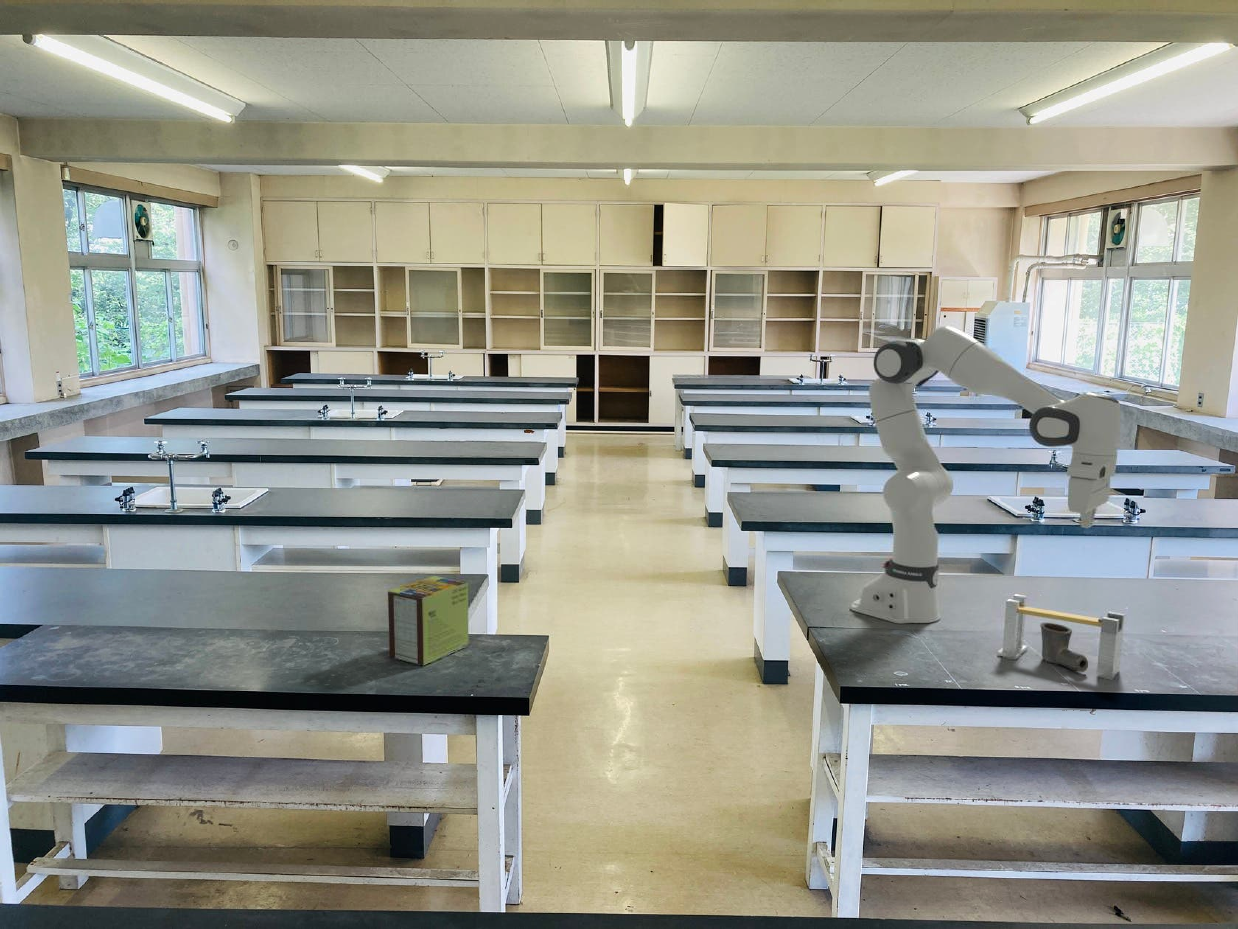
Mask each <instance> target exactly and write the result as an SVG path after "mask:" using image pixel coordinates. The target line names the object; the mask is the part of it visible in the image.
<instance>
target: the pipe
mask: <svg viewBox="0 0 1238 929" xmlns="http://www.w3.org/2000/svg"><path fill="white" fill-rule="evenodd" d="M1039 626H1040V630H1041V640H1042V641H1041V642H1042V643H1041V646H1042V647H1041V649H1042V650H1041V657H1042V659H1043V660H1044V661H1046V662H1048V663H1051V664H1056V665H1061V666H1063V667H1066V668H1067V669H1070V670H1073V671H1076V672H1078V673H1079V672H1080V673H1084V672H1086V670H1088V669H1089V668H1088V667H1089V661H1088V659H1087V657H1086V656H1085V655H1083V654H1081V653H1078V652H1074V651H1072V650H1069V646H1070V640H1071V637H1072V633H1073V630H1072V629H1071V628H1070V627H1067V626H1066V625H1062V624H1059V623H1053V622H1041V623H1040V624H1039Z"/></svg>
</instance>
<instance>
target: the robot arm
mask: <svg viewBox="0 0 1238 929" xmlns="http://www.w3.org/2000/svg"><path fill="white" fill-rule="evenodd" d="M873 369H874V371H875V374H876V375H877V377H878V378H876V379H875V380H874V381H872V382H871V383H870V386H869V389H868V394H869V403H870V410H871V413H872V419H873V420H874V423H875V427H876V431H877V434H878V438H879V441H880V444H881V446H882V450H883V451H884V453H885V454H886V455H887V456H888V457H889V458H890V459H891V461H892V462H893V463H894V466H895V467H896V469H897V472H896V473H895V474H893V475H892V476H891V477H890V478H889V479H887V481H886V482H885V484H884V485H883V489H882V496H883V500H884V503H885V504H886V505H887V507H888V508H889V512H890V517H891V522H892V530H893V531H892V532H893V540H892V541H893V542H892V557H891V558H889V559H888V560H887V561H885V563H883V564H882V565H883V566H882V569H884V573H882V574H880V575H878V576H877V577H875V578H874V579H872V580H870V581H868V582H867V583H866V584H865V585H864V586H863V588H862V590H861V593H860V598H858V599H856V600H854V601H853V602H852V603H851V606H850V609H851V611H853V612H857V613H861V614H863V615H868V616H871V617H874V618H876V619H877V618H878V619H881V620H885V621H888V622H892V623H894V624H910V623H911V624H913V623H914V624H919V623H920V624H927V623H928V624H929V623H934V622H937V621H939V620H940V619H941V614H940V610H939V605H938V597H937V596H938V595H937V594H938V593H937V586H938V582H939V564H938V555H939V554H938V553H939V552H938V551H939V540H940V539H939V538H940V536H939V532H938V531H937V529H936V527H935V526H936V525H935V523H934V518H933V517H934V516H933V509H934V507H936V506H940V505H941V504H943V503H944V502H945V501H947V499H948V498H949V497H950V496H951V495H952V492H953V489H954V480H953V477H952V475H951V474H950V472H949V471H948V470H946V468H944V466H943V465H942V463H941V461H940V460H939V458H938V456H937V454H936V453H935V451H934V449H933V447H932V446H931V443H930V441H929V440H928V437H927V435H926V431H925V429H924V426H923V422H922V420H921V417H920V413H919V411H918V408H917V405H916V402H915V398H914V389H915V388H916V387H918V388H919V387H922V386H923V385H924V384H926V382H928V381H929V380H930V379H933V377H935V376H936V375H938V373H940V374H943V375H944V376H945V377H947V378H948V379H949V380H951V381H952V382H953V383H954V384H956V385H957V386H958V387H960V388H962V389H964V390H966V391H969V392H971V393H974V394H977V395H983V396H993V397H999V398H1004V399H1006V400H1010V401H1011V402H1014V403H1015V404H1017V405H1019V406H1021V407H1022V408H1023V409H1025V410H1026V411H1028V412H1029V413H1031V414H1032V416H1030V417H1031V418H1030V421H1029V423H1028V428H1029V433H1030V435H1031V438H1032V439H1033V440H1034V441H1035V442H1036V443H1038V444H1039V445H1042V446H1044V447H1048V448H1058V447H1067V446H1069V447H1071V448H1072V452H1071V453H1072V454H1071V455H1072V456H1071V460H1070V464H1068V466H1067V471H1066V476H1067V477H1069V479H1068V489H1067V507H1068V511H1070V512H1071V513H1079V515H1080V520H1081V521H1080V527H1081V528H1083V529H1089V528H1091V527H1093V525H1094V518H1095V516H1096V514H1097V508H1099V507H1100V506H1102V505H1104V504H1106V503H1107V502H1108V501H1109V499H1110V491H1111V489H1110V488H1111V477H1115V475H1116V468H1117V460H1118V449H1117V443H1118V439H1119V437H1120V432H1121V420H1122V418H1121V415H1122V413H1121V412H1122V411H1121V404H1120V402H1119V400H1118V399H1117V398H1116V397H1114V396H1113V395H1109V394H1106V393H1102V392H1096V391H1084V392H1082V393H1080V394H1079V395H1077V396H1076V397H1073V398H1071V399H1064V398H1061V397H1059V396H1057V394H1054V393H1052V392H1051V391H1049V390H1048V389H1046V388H1045V387H1043V386H1041V385H1039V384H1038V383H1037V382H1035V381H1033V380H1032V379H1030V378H1029V377H1027V376H1026V375H1024V374H1022V373H1021V372H1020V371H1018V370H1017V369H1016V368H1014V366H1012V365H1010V364H1009V363H1008V362H1007V361H1006V360H1004V359H1003V358H1002V357H1001V356H999V355H998V354H996V353H995V351H993V350H992V349H990V348H989V347H988V346H986V345H985V344H983V343H982V342H981V341H979V340H978V339H976V338H974V337H973V336H971V335H970V334H967V333H966V332H963V331H962V330H959V329H957V328H955V327H953V326H948V325H942V326H940V327H938V328H936V329H934V330H933V331H932V332H930V334H929V335H928V336H927V337H926V338H905V339H901V340H892V341H889V342H887V343H885V344H883V345H882V346H880V347H879V349H878V350H876V352H875V353H874V357H873Z"/></svg>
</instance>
